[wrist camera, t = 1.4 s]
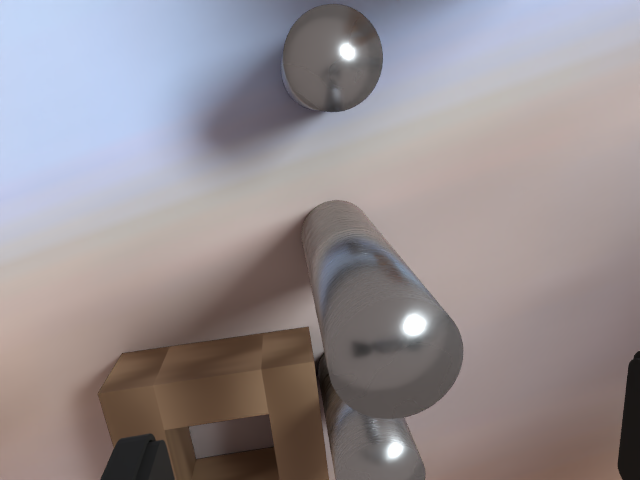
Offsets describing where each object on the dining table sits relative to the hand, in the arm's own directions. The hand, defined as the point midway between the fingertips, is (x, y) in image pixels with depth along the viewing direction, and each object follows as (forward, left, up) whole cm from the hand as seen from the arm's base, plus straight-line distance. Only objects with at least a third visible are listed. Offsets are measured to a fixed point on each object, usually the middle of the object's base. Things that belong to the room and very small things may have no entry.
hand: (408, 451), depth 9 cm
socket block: (+6, +10, -15) cm, 19 cm away
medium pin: (-1, +8, -15) cm, 17 cm away
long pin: (-1, 0, -15) cm, 15 cm away
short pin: (-1, -8, -15) cm, 17 cm away
